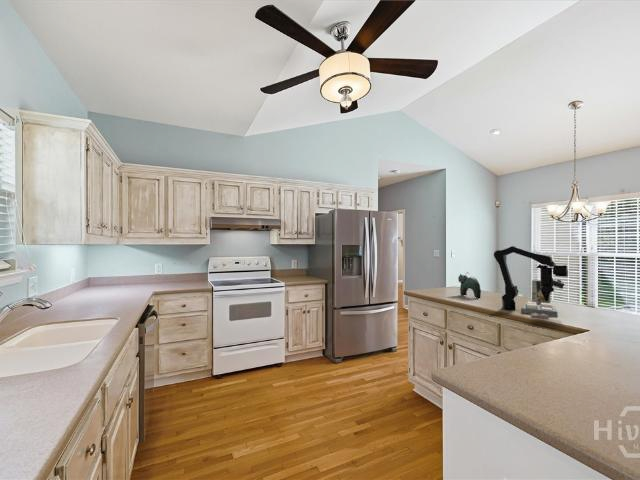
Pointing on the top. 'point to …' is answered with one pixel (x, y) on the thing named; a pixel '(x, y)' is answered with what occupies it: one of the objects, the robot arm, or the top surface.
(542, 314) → the pattern card
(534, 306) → the button front left
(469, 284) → the ceramic cat
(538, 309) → the control panel
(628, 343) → the top surface
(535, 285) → the coffee box
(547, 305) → the button back right
